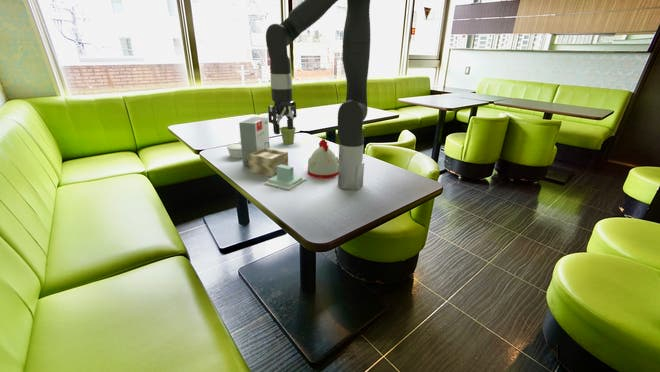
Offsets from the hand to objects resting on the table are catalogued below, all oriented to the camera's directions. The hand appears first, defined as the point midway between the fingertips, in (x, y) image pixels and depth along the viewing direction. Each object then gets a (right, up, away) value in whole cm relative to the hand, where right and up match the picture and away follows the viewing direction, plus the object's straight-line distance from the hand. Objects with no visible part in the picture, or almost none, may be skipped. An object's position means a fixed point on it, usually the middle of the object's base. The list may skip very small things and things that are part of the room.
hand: (283, 131), depth 114 cm
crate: (-9, -14, +19) cm, 25 cm away
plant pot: (-7, +4, +61) cm, 61 cm away
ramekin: (-28, -6, +38) cm, 47 cm away
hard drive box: (-18, -9, +31) cm, 36 cm away
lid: (0, -19, +7) cm, 20 cm away
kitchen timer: (+15, -15, +18) cm, 28 cm away
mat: (0, -19, +8) cm, 21 cm away
